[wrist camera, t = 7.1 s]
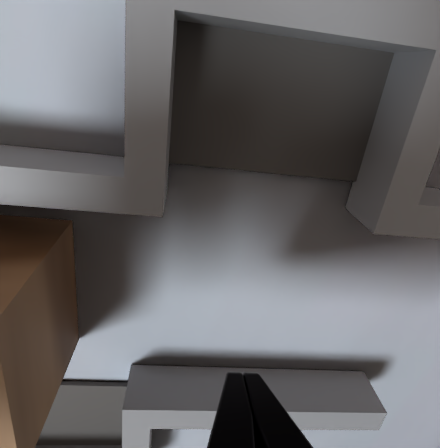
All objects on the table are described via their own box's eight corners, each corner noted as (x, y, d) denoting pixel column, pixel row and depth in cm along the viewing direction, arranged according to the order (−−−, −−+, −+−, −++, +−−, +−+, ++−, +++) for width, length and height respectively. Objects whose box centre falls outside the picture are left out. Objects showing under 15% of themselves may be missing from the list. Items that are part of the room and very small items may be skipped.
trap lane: (501, 28, 10) (621, 13, 7) (330, 453, 17) (356, 525, 15) (-234, -94, 7) (-476, -186, 5) (-55, 455, 15) (-109, 539, 12)
